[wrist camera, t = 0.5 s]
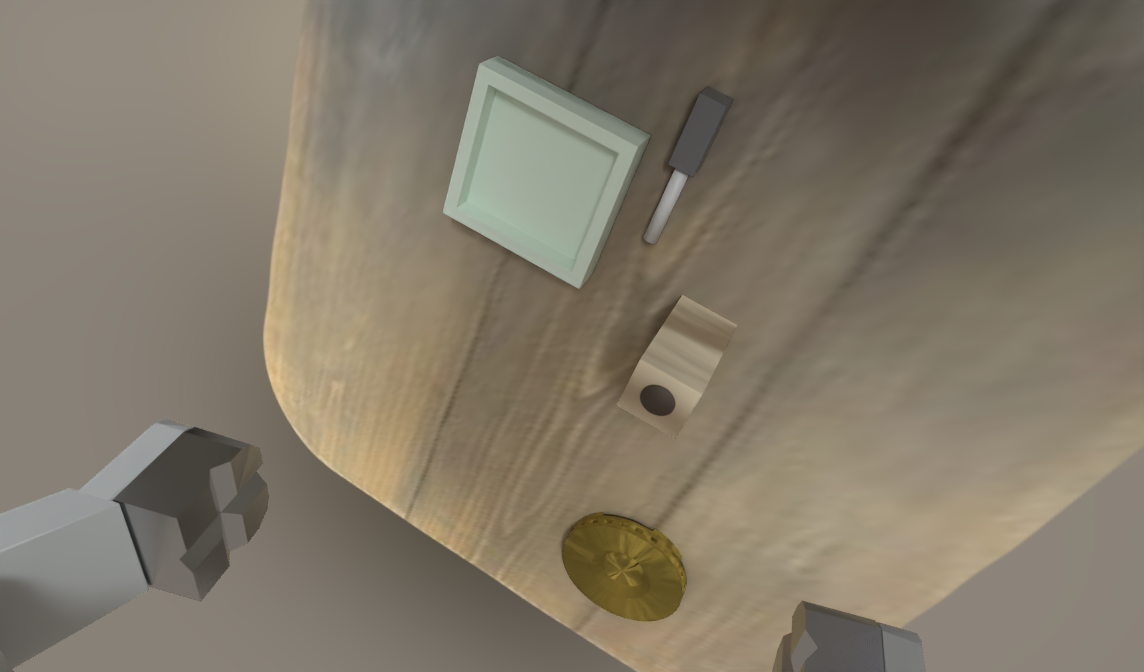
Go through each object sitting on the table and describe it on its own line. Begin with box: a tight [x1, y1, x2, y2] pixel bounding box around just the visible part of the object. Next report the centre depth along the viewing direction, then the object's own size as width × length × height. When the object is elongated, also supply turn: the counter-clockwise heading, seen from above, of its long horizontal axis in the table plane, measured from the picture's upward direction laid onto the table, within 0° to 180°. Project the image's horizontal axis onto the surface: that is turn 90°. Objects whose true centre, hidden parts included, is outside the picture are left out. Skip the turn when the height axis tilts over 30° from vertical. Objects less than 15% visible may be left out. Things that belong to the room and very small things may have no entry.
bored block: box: [616, 295, 737, 439], centre depth 53 cm, size 5×4×9 cm
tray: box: [443, 56, 651, 289], centre depth 54 cm, size 12×12×2 cm
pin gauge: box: [644, 87, 734, 244], centre depth 50 cm, size 11×2×2 cm, turn 161°
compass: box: [562, 512, 687, 621], centre depth 72 cm, size 12×12×2 cm
